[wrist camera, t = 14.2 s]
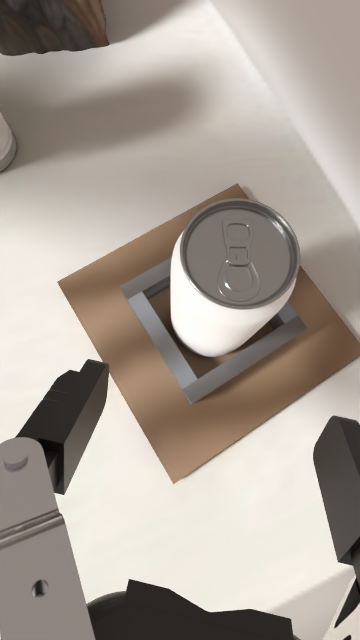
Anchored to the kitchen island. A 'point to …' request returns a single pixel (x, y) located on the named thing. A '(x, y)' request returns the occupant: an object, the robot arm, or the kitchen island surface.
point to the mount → (190, 368)
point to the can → (230, 274)
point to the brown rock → (51, 26)
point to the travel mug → (6, 144)
